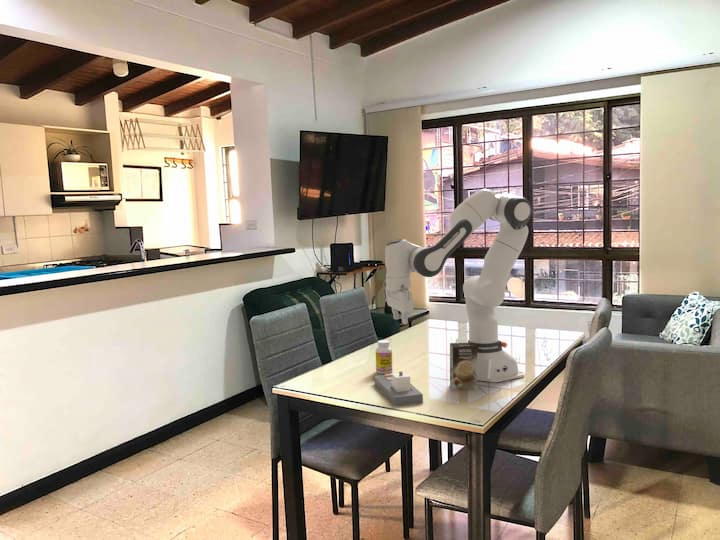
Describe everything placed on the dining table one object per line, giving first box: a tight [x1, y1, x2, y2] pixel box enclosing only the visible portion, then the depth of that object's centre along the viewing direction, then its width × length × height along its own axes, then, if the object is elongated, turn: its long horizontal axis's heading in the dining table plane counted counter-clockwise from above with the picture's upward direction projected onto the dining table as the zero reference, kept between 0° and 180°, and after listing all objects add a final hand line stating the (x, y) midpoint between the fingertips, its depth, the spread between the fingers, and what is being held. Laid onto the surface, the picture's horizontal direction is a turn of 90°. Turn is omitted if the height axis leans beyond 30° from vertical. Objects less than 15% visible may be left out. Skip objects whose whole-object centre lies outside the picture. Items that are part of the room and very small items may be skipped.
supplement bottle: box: [375, 339, 393, 375], centre depth 233 cm, size 7×7×13 cm
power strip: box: [373, 373, 424, 407], centre depth 207 cm, size 10×26×4 cm, turn 14°
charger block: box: [391, 371, 411, 393], centre depth 201 cm, size 5×5×9 cm
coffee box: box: [449, 342, 478, 391], centre depth 210 cm, size 9×6×16 cm
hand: (400, 321), depth 209 cm, fingers open, 8 cm apart
